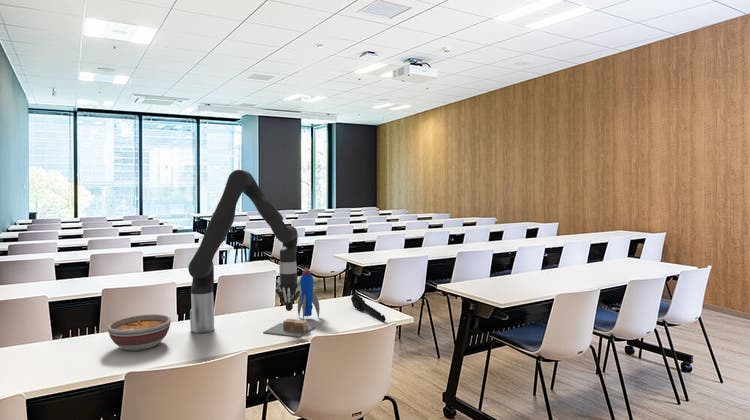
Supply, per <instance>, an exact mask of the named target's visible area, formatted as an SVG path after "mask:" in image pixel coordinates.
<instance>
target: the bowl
mask: <svg viewBox="0 0 750 420" xmlns="http://www.w3.org/2000/svg"><path fill="white" fill-rule="evenodd" d="M171 322H172V321H171V317H170V316H169V315H164V314H155V313H154V314H153V313H150V314H139V315H132V316H128V317H124V318H120V319H116V320H115V321H112V322H110V323H109V324H108V325H107V332H108V334H109V337H110V339H111V340H112V342H113V343H114V344H115V345H116V346H117V347H119V348H121V349H123V350H126V351H133V352H134V351H143V350H147V349H150V348H153V347H155V346H157V345H159V344H160V343H161V342H162V341H163V339H165V337H166V336H167V335H168V332H169V330H170V327H171Z"/></svg>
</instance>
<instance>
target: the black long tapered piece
mask: <svg viewBox="0 0 750 420" xmlns="http://www.w3.org/2000/svg"><path fill="white" fill-rule="evenodd" d="M350 299H351V303H352V306H353V307H354V308H356V309H357V310H358V311H362V312H366V313H367V314H369V315H370V316H372V317H374V318H375V319H376V320H378V321H379V320H380V322H381V323H384V322H385V321H386V316H385V315H384V314H381V313H382V312H379V311H378V310H377V309H376V308H374V307H372V306H371V305H369V304H367V303H366V300H364V299H363V297H362V296H360V295H359V294H357V293H356V292H355V293H353V294H352V296H351V298H350ZM356 309H355V310H356ZM374 318H373V319H374Z"/></svg>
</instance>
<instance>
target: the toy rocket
mask: <svg viewBox="0 0 750 420" xmlns="http://www.w3.org/2000/svg"><path fill="white" fill-rule="evenodd" d="M299 286H300V290H302V293H301V294H300V296H299V297H298V299H297V315H298V317H300V315H301V310H302V318H303V319H302V320H305V317H310V316H312V315H313V313H312V310H313V307H314V308H315V311H316V316H317V318H319V317H320V302H319V298H318V297H317V295H316V294H315V293H314V277H313V275H312V274H311V271H310V270H309V268H308V267H307V266H306V267H305V269H304V270H303V271H302V274H301V276H300V279H299Z"/></svg>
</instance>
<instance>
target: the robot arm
mask: <svg viewBox="0 0 750 420" xmlns="http://www.w3.org/2000/svg"><path fill="white" fill-rule="evenodd" d="M228 175H229V176H228V178H227V180H226V183H225V187H224V189H223V192H222V195H221V196H220V197H221V198H220V199H219V202H218V203H217V206H216V208H215V210H214V212H213V214H212V215H211V217H210V221H209V223H208V225H207V227H206V230H205V231H204V234H203V237H202V238H201V239H202V240H201V242H200V245H199V247H198V249H197V250H196V252H195V254H194V256H193V257H192V259H191V260H190V262H189V264H188V274H189V275H190V276H191V277H192V282H191V286H190V298H191V299H190V301H191V309H190V310H189V324H190V325H189V326H190V332H192V333H195V334H205V333H209V332H212V331H214V330H215V314H214V313H215V312H214V311H215V309H214V307H215V305H214V303H215V302H214V283H215V277H214V276H215V272H214V271H215V269H214V268H215V267H214V266H215V265H214V261H213V260H214V257H215V255H216V253H217V251H218V249H219V248H220V246H222V244H223V242H224V241H225V239H226V237H227V236H228V234H229V232H230V231H231V228H232V227H233V223H234V220H235V215H236V209H237V204H238V201H239V199H240V197H241V195H242V194H244V195H246V197H248V198H249V200H250V201H251V202H252V203H253V205H254V207H255V209H256V210H257V212H258V213H259V215H260V216H261V217H262V219H263V220H264V221H265V223H267V224H268V226H269V227H270V229H271V232H272V234H273V235H274V236H275V238H276V239H277V240H278V241H279V242H280V243H282V245H281V246H282V247H281V249H280V250H279V265H278V266H279V270H278V271H279V287H278V288H276V289H275V290H274V292H275V293H276V295H277V296H278V298H279V299H280V301H283V302H284V303H285V305H284V306H285V310H286V312H291V311H293V309H294V307H293V305H294V304H293V303H294V302H295V301H298V300H299V297H300V295H301V293H302V290H301V288H299V286H298V284H297V283H298V267H297V251H296V250H297V246H298V240H299V236H298V234H299V233H298V231H297V228H296V227H295V226H293V225H286V223H285V222H284V216H283V215H282V213H280V211H278V209H277V208H276V207H275V206H274V204H273V203H272V202H271V201H270V200H269V199H268V197H267V196H266V195H265V193H263V191H262V190H261V188H260V186H259V185H258V183H257V182H256V180H255V178H254V177H253V175H252V174H251V173H250V172H249V171H247V170H243V169H240V168H239V169H235V170H233V171H231V173H230V174H228Z"/></svg>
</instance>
